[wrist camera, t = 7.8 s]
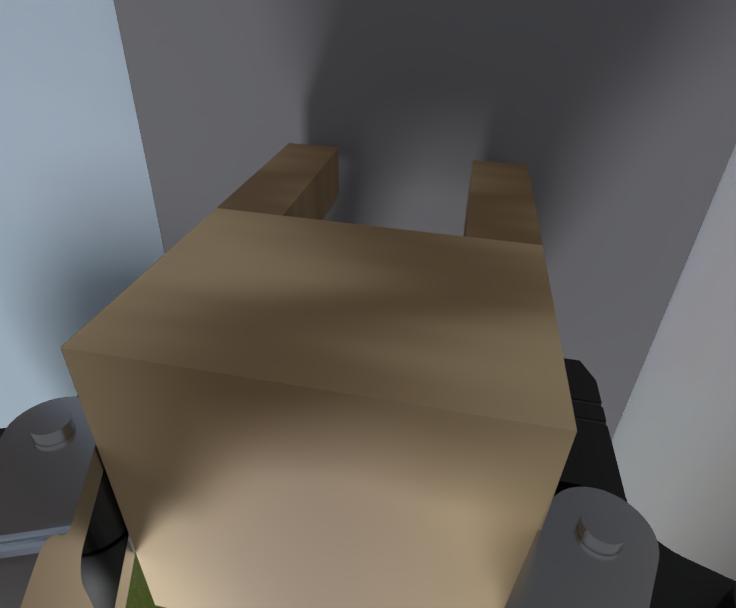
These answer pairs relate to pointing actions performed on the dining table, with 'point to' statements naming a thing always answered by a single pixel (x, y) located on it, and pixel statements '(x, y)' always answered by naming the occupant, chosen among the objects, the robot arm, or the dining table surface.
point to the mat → (461, 128)
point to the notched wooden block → (333, 400)
